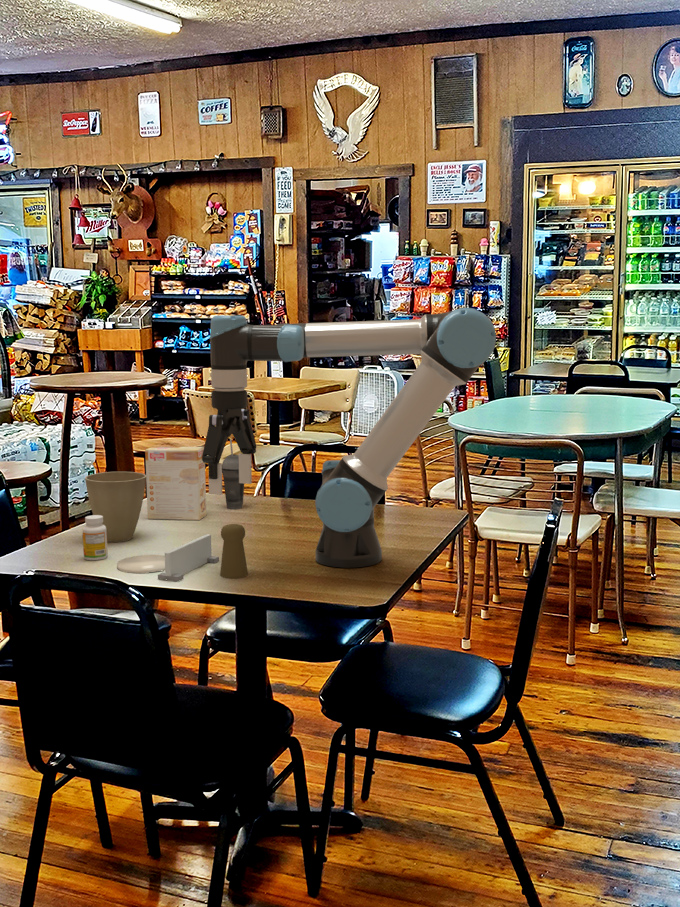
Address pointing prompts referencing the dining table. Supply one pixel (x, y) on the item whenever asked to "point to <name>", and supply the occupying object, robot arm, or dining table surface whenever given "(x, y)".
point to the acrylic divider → (187, 558)
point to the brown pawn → (233, 552)
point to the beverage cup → (232, 481)
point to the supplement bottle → (94, 538)
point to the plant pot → (117, 501)
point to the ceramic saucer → (142, 564)
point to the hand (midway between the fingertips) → (230, 488)
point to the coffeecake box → (175, 483)
